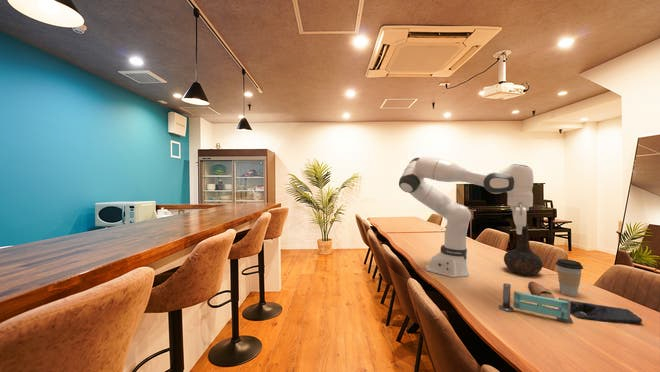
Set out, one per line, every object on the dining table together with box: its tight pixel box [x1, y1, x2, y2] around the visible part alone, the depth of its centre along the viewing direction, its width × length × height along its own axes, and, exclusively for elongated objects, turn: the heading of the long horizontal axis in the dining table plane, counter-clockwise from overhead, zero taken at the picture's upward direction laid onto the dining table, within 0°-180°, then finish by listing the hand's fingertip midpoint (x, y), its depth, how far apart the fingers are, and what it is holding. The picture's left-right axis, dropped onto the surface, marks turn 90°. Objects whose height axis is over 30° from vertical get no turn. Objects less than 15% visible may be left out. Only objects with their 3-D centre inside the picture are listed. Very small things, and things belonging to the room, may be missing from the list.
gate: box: [513, 291, 568, 319], centre depth 100 cm, size 16×2×6 cm, turn 58°
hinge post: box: [498, 282, 515, 313], centre depth 105 cm, size 5×5×10 cm
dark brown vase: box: [503, 223, 544, 276], centre depth 147 cm, size 18×18×28 cm
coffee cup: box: [555, 258, 584, 297], centre depth 120 cm, size 9×9×15 cm
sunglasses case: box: [527, 281, 556, 299], centre depth 118 cm, size 18×7×7 cm, turn 152°
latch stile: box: [555, 297, 574, 324], centre depth 98 cm, size 4×4×8 cm
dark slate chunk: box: [570, 300, 643, 324], centre depth 103 cm, size 15×22×5 cm
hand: (519, 233), depth 113 cm, fingers closed
